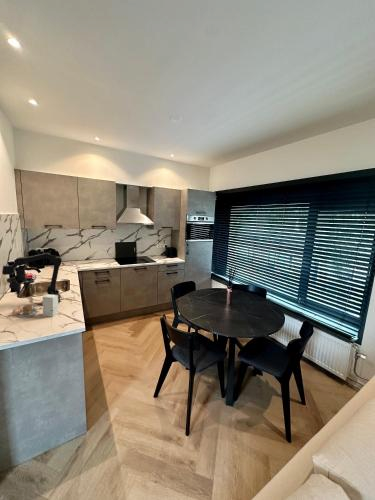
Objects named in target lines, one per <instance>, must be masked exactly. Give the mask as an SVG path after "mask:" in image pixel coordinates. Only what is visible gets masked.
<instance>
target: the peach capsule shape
mask: <svg viewBox="0 0 375 500" xmlns="http://www.w3.org/2000/svg"><path fill="white" fill-rule="evenodd" d="M20 314H21V313H20V309H19V308H18V307H17V308H14V309H12V315H13V316H14V317H17V316H19V315H20Z"/></svg>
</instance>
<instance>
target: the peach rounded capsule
mask: <svg viewBox="0 0 375 500" xmlns="http://www.w3.org/2000/svg"><path fill="white" fill-rule="evenodd" d="M24 306H25V305H19V306H17V309H18V308H19V309H20V314H22V313H23V307H24Z"/></svg>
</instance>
